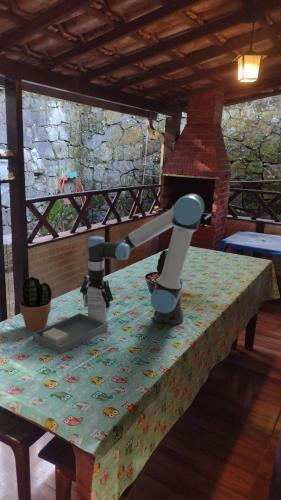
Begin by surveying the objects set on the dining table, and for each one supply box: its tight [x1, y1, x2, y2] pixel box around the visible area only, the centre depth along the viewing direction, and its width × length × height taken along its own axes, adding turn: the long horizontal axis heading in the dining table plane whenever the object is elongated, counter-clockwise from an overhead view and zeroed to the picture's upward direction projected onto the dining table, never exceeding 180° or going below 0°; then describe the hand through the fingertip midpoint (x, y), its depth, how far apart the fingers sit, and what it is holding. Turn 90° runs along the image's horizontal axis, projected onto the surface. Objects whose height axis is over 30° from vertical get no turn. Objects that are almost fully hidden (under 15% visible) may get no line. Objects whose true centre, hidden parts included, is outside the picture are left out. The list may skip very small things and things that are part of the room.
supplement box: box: [87, 285, 108, 323], centre depth 180 cm, size 10×9×17 cm
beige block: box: [43, 328, 68, 345], centre depth 156 cm, size 9×6×4 cm, turn 54°
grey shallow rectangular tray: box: [32, 312, 108, 354], centre depth 163 cm, size 18×28×4 cm, turn 144°
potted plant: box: [19, 276, 53, 332], centre depth 167 cm, size 14×14×25 cm
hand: (96, 310), depth 180 cm, fingers closed on supplement box, 13 cm apart
